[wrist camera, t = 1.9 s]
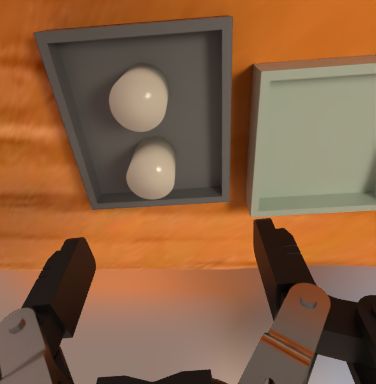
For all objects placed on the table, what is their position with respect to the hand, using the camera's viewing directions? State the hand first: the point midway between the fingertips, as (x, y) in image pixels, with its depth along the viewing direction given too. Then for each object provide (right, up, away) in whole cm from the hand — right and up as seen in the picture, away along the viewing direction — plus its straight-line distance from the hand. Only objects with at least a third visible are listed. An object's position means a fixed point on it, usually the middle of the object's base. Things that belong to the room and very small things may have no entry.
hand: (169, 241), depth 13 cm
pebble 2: (-3, +6, +17) cm, 18 cm away
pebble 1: (-3, +12, +13) cm, 18 cm away
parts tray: (-3, +10, +16) cm, 19 cm away
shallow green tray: (+15, +8, +17) cm, 24 cm away
